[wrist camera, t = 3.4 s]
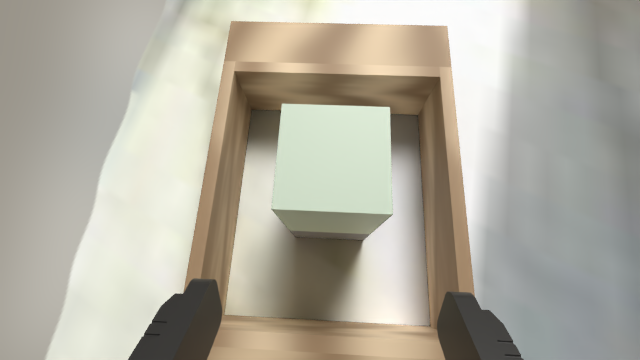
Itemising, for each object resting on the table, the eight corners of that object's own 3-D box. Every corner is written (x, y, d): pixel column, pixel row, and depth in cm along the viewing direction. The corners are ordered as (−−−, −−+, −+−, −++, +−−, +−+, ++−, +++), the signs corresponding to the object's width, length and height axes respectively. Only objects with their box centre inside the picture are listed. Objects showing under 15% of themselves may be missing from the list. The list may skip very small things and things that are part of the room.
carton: (424, 71, 26) (447, 26, 21) (447, 403, 18) (490, 448, 14) (248, 66, 26) (231, 21, 22) (202, 387, 19) (160, 425, 14)
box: (363, 175, 23) (390, 106, 14) (363, 240, 22) (392, 214, 12) (299, 173, 23) (281, 103, 14) (295, 236, 22) (271, 209, 12)
